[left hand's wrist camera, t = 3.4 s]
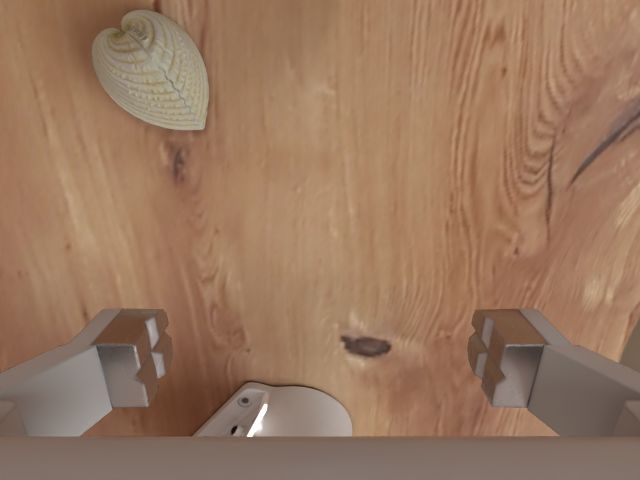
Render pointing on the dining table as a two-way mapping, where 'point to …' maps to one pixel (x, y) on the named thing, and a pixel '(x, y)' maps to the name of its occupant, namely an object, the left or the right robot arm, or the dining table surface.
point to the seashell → (153, 71)
